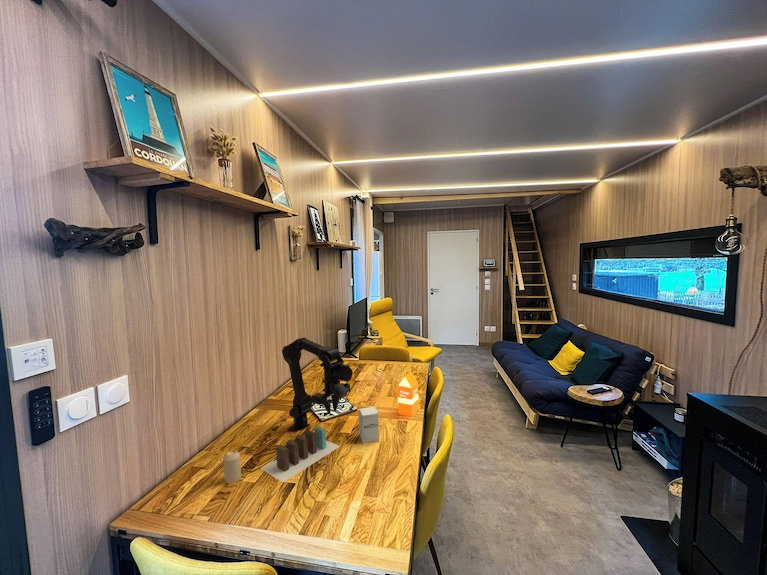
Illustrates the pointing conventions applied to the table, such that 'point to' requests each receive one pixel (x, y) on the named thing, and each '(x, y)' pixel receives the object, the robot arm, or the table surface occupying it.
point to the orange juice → (408, 395)
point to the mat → (303, 464)
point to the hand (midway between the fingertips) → (332, 412)
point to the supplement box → (368, 425)
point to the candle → (232, 467)
